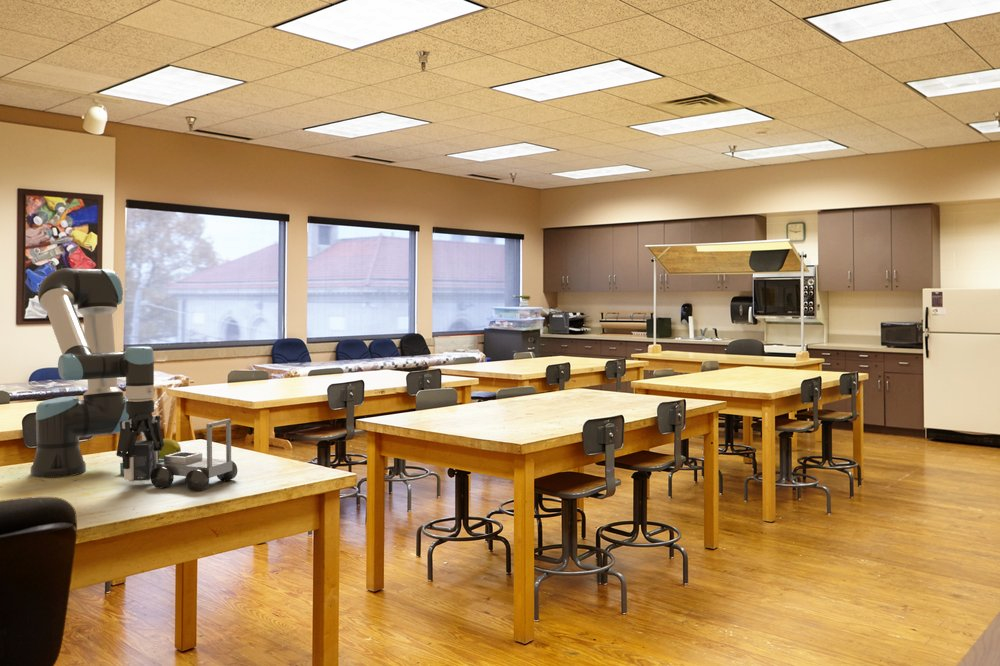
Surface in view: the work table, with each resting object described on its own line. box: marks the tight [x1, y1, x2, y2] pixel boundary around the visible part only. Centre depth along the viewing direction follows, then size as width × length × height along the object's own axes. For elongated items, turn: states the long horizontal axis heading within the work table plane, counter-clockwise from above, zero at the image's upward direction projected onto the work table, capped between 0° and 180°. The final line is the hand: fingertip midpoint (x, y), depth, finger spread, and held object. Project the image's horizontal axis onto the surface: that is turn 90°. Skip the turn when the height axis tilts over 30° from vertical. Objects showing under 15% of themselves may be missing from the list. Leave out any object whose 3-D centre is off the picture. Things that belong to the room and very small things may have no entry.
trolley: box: [150, 418, 238, 493], centre depth 238 cm, size 18×16×19 cm
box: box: [128, 440, 154, 482], centre depth 235 cm, size 8×6×11 cm
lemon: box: [158, 438, 182, 459], centre depth 269 cm, size 11×8×8 cm
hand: (141, 476), depth 236 cm, fingers closed on box, 9 cm apart
